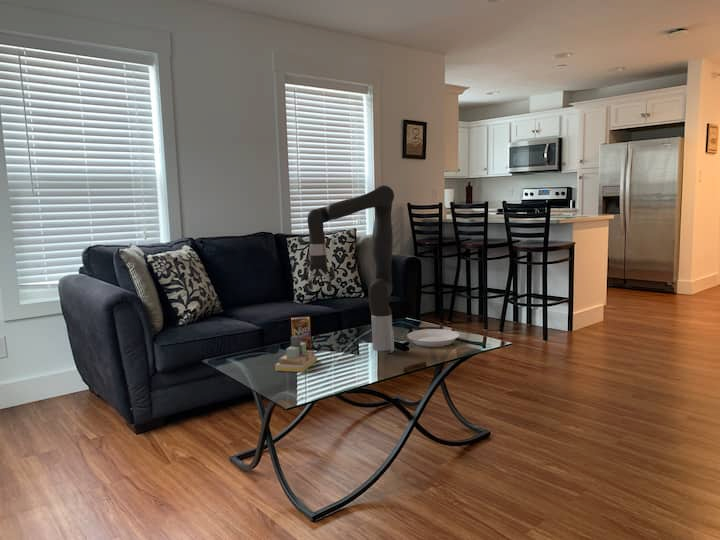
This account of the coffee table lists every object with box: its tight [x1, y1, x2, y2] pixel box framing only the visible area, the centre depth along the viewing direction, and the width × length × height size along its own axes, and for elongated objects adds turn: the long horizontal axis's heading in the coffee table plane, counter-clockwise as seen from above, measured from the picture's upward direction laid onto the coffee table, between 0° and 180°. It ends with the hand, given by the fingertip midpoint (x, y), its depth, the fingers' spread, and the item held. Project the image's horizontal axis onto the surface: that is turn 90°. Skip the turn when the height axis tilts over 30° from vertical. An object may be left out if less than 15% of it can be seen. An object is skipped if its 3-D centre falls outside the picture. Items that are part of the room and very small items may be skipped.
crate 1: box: [285, 346, 299, 359], centre depth 230 cm, size 4×4×4 cm
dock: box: [274, 354, 318, 373], centre depth 234 cm, size 12×16×4 cm
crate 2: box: [301, 342, 307, 354], centre depth 237 cm, size 4×4×4 cm
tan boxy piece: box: [278, 335, 315, 365], centre depth 233 cm, size 14×10×10 cm
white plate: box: [406, 328, 460, 348], centre depth 268 cm, size 25×25×4 cm
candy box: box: [290, 316, 312, 349], centre depth 266 cm, size 9×4×15 cm, turn 98°
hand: (320, 289), depth 252 cm, fingers open, 8 cm apart
